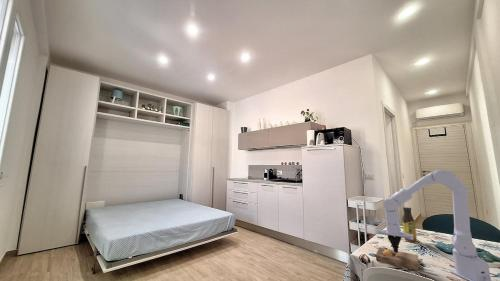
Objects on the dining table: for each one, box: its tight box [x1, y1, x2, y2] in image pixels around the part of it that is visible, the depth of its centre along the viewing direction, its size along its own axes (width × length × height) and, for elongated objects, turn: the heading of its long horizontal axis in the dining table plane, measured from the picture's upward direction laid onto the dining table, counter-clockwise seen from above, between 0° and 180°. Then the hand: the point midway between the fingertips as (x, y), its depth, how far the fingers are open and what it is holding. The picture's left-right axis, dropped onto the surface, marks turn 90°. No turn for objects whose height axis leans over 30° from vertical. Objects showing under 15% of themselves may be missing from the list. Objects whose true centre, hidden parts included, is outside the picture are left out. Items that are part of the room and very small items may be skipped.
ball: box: [383, 250, 393, 256], centre depth 101 cm, size 4×4×4 cm
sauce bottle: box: [401, 206, 417, 243], centre depth 125 cm, size 7×6×20 cm
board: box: [375, 247, 419, 271], centre depth 99 cm, size 16×12×2 cm
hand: (396, 251), depth 99 cm, fingers closed
